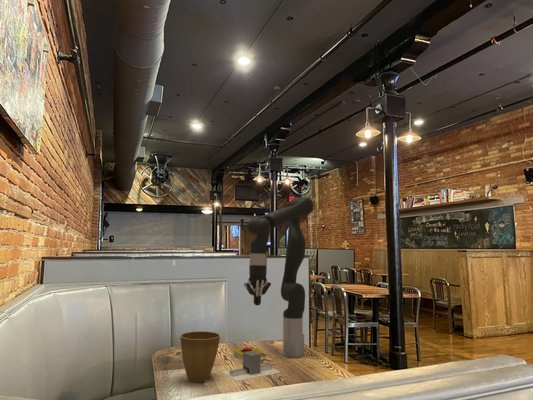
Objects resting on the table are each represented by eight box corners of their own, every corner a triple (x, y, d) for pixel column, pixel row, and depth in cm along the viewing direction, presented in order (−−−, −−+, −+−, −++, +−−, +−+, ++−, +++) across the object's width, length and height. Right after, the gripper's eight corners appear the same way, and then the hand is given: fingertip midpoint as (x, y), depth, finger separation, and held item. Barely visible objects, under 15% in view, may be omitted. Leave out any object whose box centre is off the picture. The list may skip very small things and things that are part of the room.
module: (252, 368, 149) (252, 350, 150) (260, 373, 144) (260, 354, 145) (242, 370, 146) (243, 352, 147) (250, 374, 141) (250, 355, 142)
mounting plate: (264, 366, 155) (264, 364, 155) (280, 374, 145) (280, 372, 145) (221, 374, 144) (221, 371, 144) (236, 383, 134) (236, 380, 135)
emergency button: (230, 346, 171) (261, 344, 176) (230, 356, 170) (261, 354, 175) (236, 352, 162) (268, 349, 167) (236, 362, 162) (268, 359, 167)
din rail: (268, 367, 151) (268, 363, 151) (272, 369, 149) (272, 365, 149) (229, 374, 141) (229, 370, 141) (232, 376, 139) (232, 372, 139)
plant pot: (220, 385, 133) (221, 338, 135) (177, 387, 129) (180, 340, 132) (216, 372, 147) (218, 330, 149) (178, 373, 144) (180, 331, 146)
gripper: (266, 263, 168) (265, 303, 165) (240, 263, 161) (239, 304, 158) (275, 264, 162) (274, 305, 159) (249, 264, 154) (248, 307, 152)
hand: (257, 305), depth 159 cm, fingers closed
